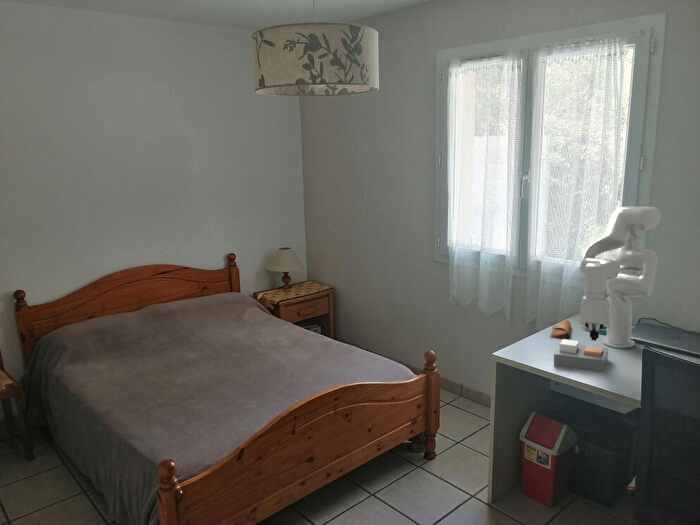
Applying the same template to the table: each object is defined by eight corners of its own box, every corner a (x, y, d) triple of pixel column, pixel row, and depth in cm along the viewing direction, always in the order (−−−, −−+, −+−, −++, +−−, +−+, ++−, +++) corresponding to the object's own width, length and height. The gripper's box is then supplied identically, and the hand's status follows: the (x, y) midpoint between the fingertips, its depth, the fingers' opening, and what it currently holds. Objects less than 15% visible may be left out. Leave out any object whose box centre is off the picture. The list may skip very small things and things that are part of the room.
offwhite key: (562, 347, 221) (562, 339, 221) (578, 349, 218) (578, 340, 218) (559, 352, 216) (560, 343, 216) (575, 354, 213) (576, 345, 213)
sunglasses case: (551, 325, 261) (559, 314, 258) (564, 333, 259) (572, 322, 256) (549, 338, 244) (557, 326, 242) (563, 346, 243) (572, 335, 240)
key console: (560, 353, 226) (560, 342, 225) (607, 359, 217) (608, 348, 216) (553, 365, 215) (554, 353, 214) (603, 372, 205) (603, 360, 204)
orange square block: (586, 353, 217) (586, 345, 216) (602, 356, 214) (602, 347, 213) (583, 359, 212) (584, 350, 211) (600, 361, 209) (600, 352, 208)
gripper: (617, 293, 207) (616, 338, 211) (576, 290, 215) (575, 334, 219) (615, 299, 201) (614, 345, 205) (573, 295, 209) (572, 340, 212)
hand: (594, 339), depth 212 cm, fingers closed
